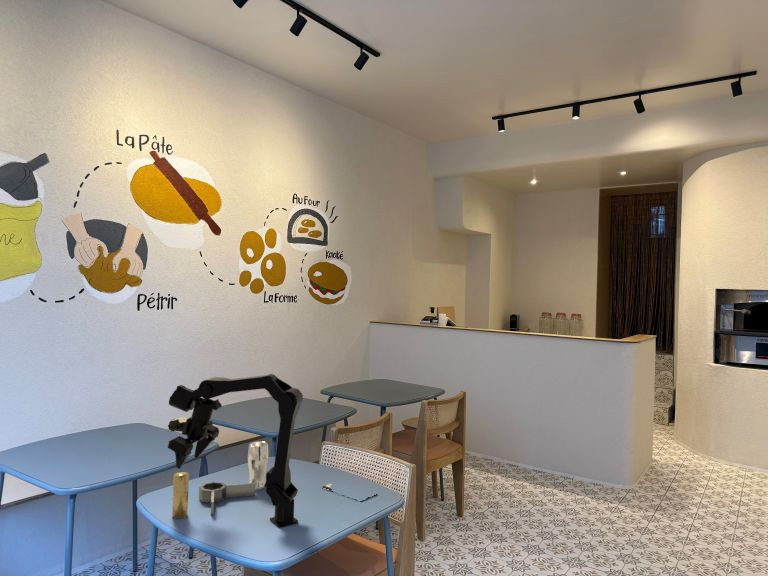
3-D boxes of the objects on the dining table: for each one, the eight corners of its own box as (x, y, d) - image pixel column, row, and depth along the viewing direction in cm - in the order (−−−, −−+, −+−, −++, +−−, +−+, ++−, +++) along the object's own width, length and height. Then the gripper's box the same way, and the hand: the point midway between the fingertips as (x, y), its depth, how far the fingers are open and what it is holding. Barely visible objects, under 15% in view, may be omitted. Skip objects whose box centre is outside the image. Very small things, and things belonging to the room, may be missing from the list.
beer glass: (254, 491, 186) (255, 448, 186) (242, 486, 191) (244, 443, 191) (271, 486, 191) (272, 444, 191) (259, 481, 196) (260, 440, 196)
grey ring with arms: (265, 503, 177) (266, 490, 177) (211, 515, 166) (211, 502, 166) (245, 487, 190) (245, 475, 190) (193, 497, 179) (193, 485, 179)
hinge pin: (189, 516, 165) (190, 475, 165) (174, 520, 162) (175, 478, 162) (185, 511, 168) (186, 471, 168) (170, 514, 165) (171, 473, 166)
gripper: (197, 399, 178) (184, 442, 180) (159, 415, 160) (145, 462, 162) (225, 412, 175) (212, 456, 177) (191, 430, 157) (176, 478, 159)
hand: (187, 462), depth 169 cm, fingers open, 9 cm apart
